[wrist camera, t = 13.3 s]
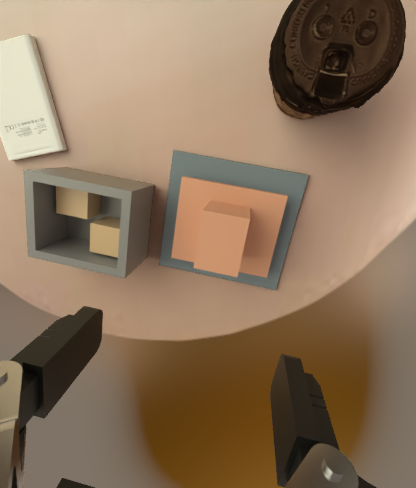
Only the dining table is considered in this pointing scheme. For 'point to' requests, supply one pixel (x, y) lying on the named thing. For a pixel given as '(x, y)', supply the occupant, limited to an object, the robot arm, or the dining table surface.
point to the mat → (237, 176)
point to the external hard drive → (26, 102)
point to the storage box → (87, 219)
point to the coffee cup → (334, 54)
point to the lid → (227, 227)
